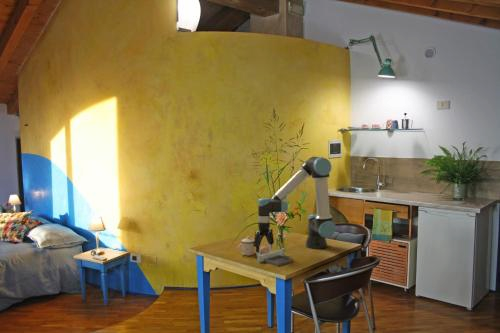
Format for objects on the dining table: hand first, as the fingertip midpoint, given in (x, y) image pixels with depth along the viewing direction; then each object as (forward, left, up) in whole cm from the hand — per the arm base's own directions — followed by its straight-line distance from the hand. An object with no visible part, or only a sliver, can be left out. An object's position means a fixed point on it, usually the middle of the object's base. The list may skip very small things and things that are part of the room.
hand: (263, 255), depth 269 cm
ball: (0, 0, +3) cm, 3 cm away
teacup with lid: (+6, -11, 0) cm, 12 cm away
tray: (+2, +16, 0) cm, 16 cm away
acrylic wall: (+1, +8, 0) cm, 8 cm away
